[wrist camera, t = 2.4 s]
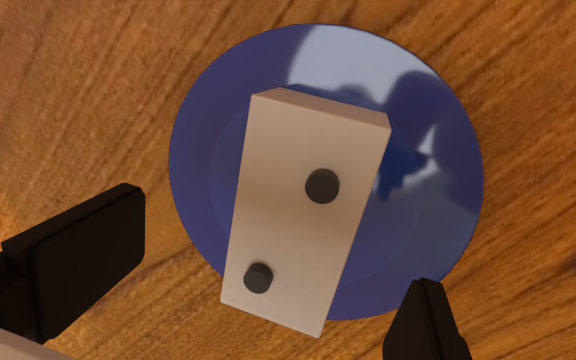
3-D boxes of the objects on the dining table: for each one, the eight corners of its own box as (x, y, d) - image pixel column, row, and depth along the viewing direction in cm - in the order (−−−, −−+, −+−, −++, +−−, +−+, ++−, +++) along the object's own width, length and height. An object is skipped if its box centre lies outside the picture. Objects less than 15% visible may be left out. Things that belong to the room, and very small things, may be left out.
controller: (278, 86, 14) (244, 95, 10) (387, 113, 13) (394, 133, 9) (246, 259, 18) (213, 311, 14) (328, 287, 17) (316, 351, 13)
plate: (258, -51, 13) (249, -60, 12) (565, 159, 13) (580, 167, 12) (143, 209, 20) (132, 216, 19) (344, 349, 20) (343, 363, 19)
